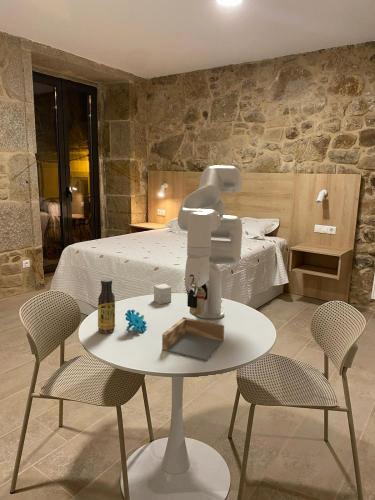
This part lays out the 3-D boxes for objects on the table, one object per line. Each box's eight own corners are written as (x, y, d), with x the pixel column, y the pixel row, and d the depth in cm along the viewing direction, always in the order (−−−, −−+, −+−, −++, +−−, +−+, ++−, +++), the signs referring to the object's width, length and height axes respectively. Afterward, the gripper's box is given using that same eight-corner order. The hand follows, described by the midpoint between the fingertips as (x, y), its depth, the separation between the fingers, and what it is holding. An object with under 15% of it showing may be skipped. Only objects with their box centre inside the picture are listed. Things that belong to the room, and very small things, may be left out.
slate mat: (183, 332, 138) (183, 330, 138) (223, 341, 132) (223, 339, 131) (162, 350, 124) (162, 348, 124) (206, 361, 117) (206, 359, 117)
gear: (138, 333, 133) (123, 311, 135) (128, 342, 135) (112, 320, 137) (153, 326, 143) (138, 305, 145) (143, 334, 145) (128, 314, 147)
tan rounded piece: (211, 310, 122) (212, 281, 120) (194, 316, 117) (195, 286, 115) (199, 305, 126) (200, 277, 124) (183, 311, 121) (183, 282, 119)
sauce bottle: (100, 335, 134) (98, 283, 130) (96, 329, 140) (94, 278, 135) (118, 332, 137) (116, 281, 133) (113, 325, 143) (111, 276, 138)
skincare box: (165, 298, 174) (165, 283, 172) (171, 302, 169) (171, 286, 167) (153, 300, 171) (153, 285, 169) (159, 304, 166) (159, 288, 164)
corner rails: (183, 332, 138) (183, 317, 137) (223, 341, 132) (224, 325, 130) (162, 350, 124) (162, 334, 123) (206, 361, 117) (206, 344, 116)
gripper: (199, 244, 127) (198, 293, 131) (175, 255, 112) (175, 309, 115) (219, 247, 124) (217, 296, 128) (198, 257, 108) (197, 314, 112)
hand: (197, 302), depth 121 cm, fingers closed on tan rounded piece, 7 cm apart
